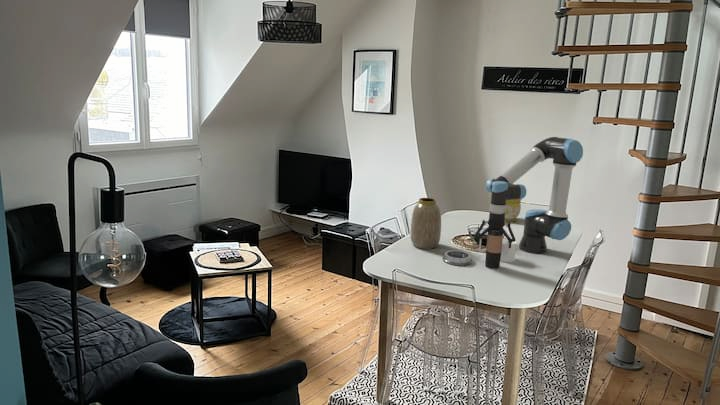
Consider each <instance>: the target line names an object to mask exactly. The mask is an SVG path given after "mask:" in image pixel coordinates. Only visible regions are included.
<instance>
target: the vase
mask: <svg viewBox="0 0 720 405" xmlns="http://www.w3.org/2000/svg"><path fill="white" fill-rule="evenodd" d="M441 211H442V210H441V208H440V206H439V205H438V204H437V199H435V198H433V197H420V198H419V199H418V203H417V204H416V205H414V208H413V210H412V215H411V219H410V220H411V221H410V222H411V223H410V242H411V243H412V245H413V246H414V247H416V248H418V249H426V250H429V249H430V250H431V249H434V248H437V247H438V246H439V243H440V241H441V234H442V212H441Z"/></svg>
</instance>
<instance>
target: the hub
mask: <svg viewBox="0 0 720 405" xmlns="http://www.w3.org/2000/svg"><path fill="white" fill-rule="evenodd" d="M442 261H443V262H444V263H445V264H447V265H451V266H457V267H465V266H470V265H472V263H473V260H472V255H471V254H470V253H469V252H467V251H463V250H455V249H454V250H448V251H445V253H444V255H443V256H442Z"/></svg>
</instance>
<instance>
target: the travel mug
mask: <svg viewBox="0 0 720 405" xmlns="http://www.w3.org/2000/svg"><path fill="white" fill-rule="evenodd" d="M503 239H504V234H503V232H502V231H501V230H499V231H497V230H492V229H490V230H489V231H488V232H487V238H486V247H485V261H484V262H485V264H484V266H485V267H486V269H490V270H498V269H500V266H501V265H500V264H501V262H500V259H501V252H502V240H503Z"/></svg>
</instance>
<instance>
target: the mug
mask: <svg viewBox="0 0 720 405" xmlns="http://www.w3.org/2000/svg"><path fill="white" fill-rule="evenodd" d="M507 241H508V239H507V238H503V240H502V252H501V259H500V263H506V264H507V263H508V264H509V263H514V262H515V260H516V251H517V250H516V249H517V241H516V240H515V242H512V243H511V248H508V255H506V250H507Z"/></svg>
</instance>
